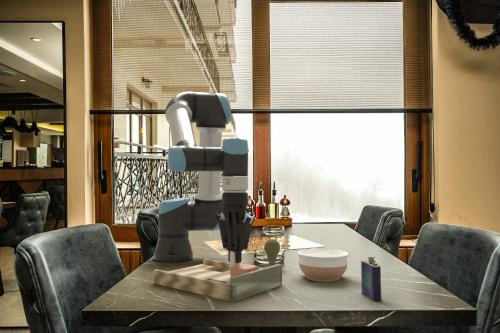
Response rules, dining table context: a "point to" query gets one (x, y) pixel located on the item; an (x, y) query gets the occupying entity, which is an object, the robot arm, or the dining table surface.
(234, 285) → the box
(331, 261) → the bowl
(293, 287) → the dining table surface
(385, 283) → the dining table surface
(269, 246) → the light bulb
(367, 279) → the flask
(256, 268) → the block
